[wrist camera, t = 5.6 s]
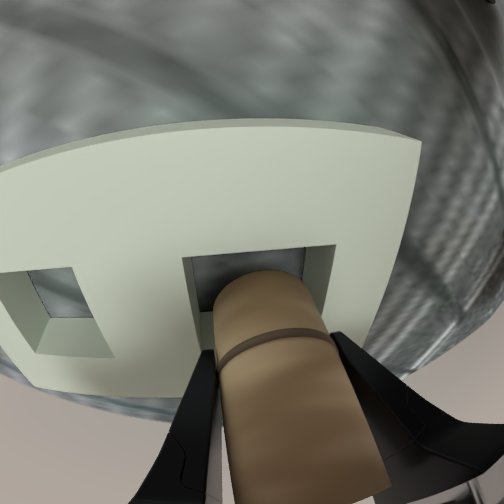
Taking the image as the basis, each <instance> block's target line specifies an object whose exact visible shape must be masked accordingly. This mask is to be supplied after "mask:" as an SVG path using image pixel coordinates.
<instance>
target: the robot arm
mask: <svg viewBox="0 0 504 504" xmlns="http://www.w3.org/2000/svg"><path fill="white" fill-rule="evenodd" d="M486 1H487V2H488V3H490V4H495V0H486ZM329 335H330V337H331V338H332V339H333V341H334V342H335V345H336V347H337V349H338V351H339V357H340V360H341V362H342V364H343V366H344V369H345V371H346V373H347V375H348V378H349V380H350V382H351V385H352V387H353V389H354V392H355V394H356V396H357V399H358V401H359V404H360V406H361V408H362V411H363V413H364V416H365V418H366V420H367V423H368V425H369V428H370V430H371V433H372V435H373V438H374V440H375V443H376V445H377V448H378V450H379V453H380V455H381V458H382V461H383V463H384V466H385V468H386V471H387V474H388V476H389V479H390V482H391V484H392V486H391V487H389V488H387V489H385V490H383V491H381V492H379V493H377V494H375V495H373V498H374V501H375V504H504V424H483V423H468V422H463V421H460V420H457V419H455V418H454V417H452V416H450V415H449V414H447V413H445V412H444V411H442V410H441V409H439V408H438V407H436V406H434V405H433V404H431V403H430V402H428V401H427V400H425V399H424V398H423V397H421V396H420V395H419V394H417V393H416V392H415V391H414V390H412V389H411V388H410V387H409V386H407V385H406V384H405V383H403V382H402V381H401V380H400V379H399V378H397V377H396V376H395V375H394V374H393V373H391V372H390V371H389V370H388V369H386V368H385V367H384V366H383V365H382V364H380V363H379V362H378V361H377V360H375V359H374V358H373V357H372V356H371V355H369V354H368V353H367V352H366V351H364V350H363V349H362V348H361V347H360V346H358V345H357V344H356V343H355V342H353V341H352V340H351V339H350V338H349V337H347V336H346V335H345V334H344V333H343V332H341V331H336V332H331V333H330V334H329ZM216 370H217V363H216V357H215V351H214V349H205V350H202V351H201V354H200V356H199V358H198V361H197V363H196V366H195V368H194V371H193V373H192V375H191V378H190V380H189V383H188V385H187V388H186V390H185V393H184V395H183V397H182V400H181V402H180V405H179V407H178V410H177V412H176V415H175V417H174V420H173V422H172V424H171V427H170V430H169V432H170V433H168V434H167V437H166V439H165V442H164V444H163V446H162V448H161V450H160V453H159V455H158V457H157V459H156V460H155V462H154V464H153V466H152V468H151V470H150V471H149V473H148V474H147V476H146V478H145V479H144V481H143V483H142V485H141V486H140V488H139V490H138V491H137V493H136V494H135V496H134V497H133V498H132V499H131V501H130V502H129V503H128V504H222V459H221V458H222V455H221V454H222V453H221V450H222V447H221V446H222V443H221V442H222V441H221V422H222V408H221V399H220V390H219V386H218V381H217V373H216Z"/></svg>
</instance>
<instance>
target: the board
mask: <svg viewBox="0 0 504 504" xmlns="http://www.w3.org/2000/svg"><path fill="white" fill-rule="evenodd" d="M421 144H422V141H419V140H417V139H414V138H411V137H408V136H405V135H402V134H399V133H396V132H393V131H390V130H387V129H384V128H381V127H375V126H368V125H360V124H352V123H343V122H332V121H320V120H304V119H276V118H249V119H220V120H204V121H192V122H181V123H172V124H164V125H156V126H149V127H142V128H136V129H130V130H124V131H119V132H114V133H109V134H104V135H99V136H95V137H90V138H86V139H82V140H78V141H74V142H70V143H67V144H63V145H59V146H56V147H52V148H49V149H46V150H43V151H40V152H36V153H33V154H30V155H27V156H25V157H22V158H19V159H16V160H14V161H11V162H8V163H6V164H3V165H1V166H0V346H1V347H2V348H3V350H4V351H5V352H6V354H7V355H8V356H9V357H10V359H11V360H12V361H13V362H14V364H15V365H16V366H17V367H18V368H19V370H20V371H21V372H22V373H23V374H24V375H25V377H26V378H27V379H28V380H29V381H30V382H31V383H32V384H33V385H34V386H35V387H40V388H45V389H51V390H57V391H64V392H72V393H80V394H89V395H100V396H114V397H137V398H175V397H183V395H184V393H185V390H186V388H187V385H188V383H189V380H190V378H191V375H192V373H193V371H194V368H195V366H196V363H197V361H198V358H199V356H200V354H201V351H202V350H205V349H214V351H215V357H216V348H215V336H214V323H213V311H211V312H200V310H199V304H198V298H197V292H196V286H195V280H194V274H193V267H192V260H191V257H192V256H204V255H215V254H227V253H239V252H251V251H263V250H274V249H286V248H298V247H306V253H305V261H304V269H303V277H302V281H303V282H304V283H305V285H306V286H307V288H308V290H309V292H310V294H311V296H312V298H313V301H314V303H315V305H316V307H317V309H318V311H319V313H320V316H321V318H322V320H323V322H324V324H325V326H326V329H327V331H328V333H329V334H330V333H331V332H336V331H341V332H343V333H344V334H345V335H346V336H347V337H349V338H350V339H351V340H352V341H353V342H355V343H356V344H357V345H358V346H360V347H361V348H362V346H363V344H364V342H365V340H366V337H367V335H368V333H369V330H370V328H371V326H372V323H373V321H374V318H375V316H376V313H377V311H378V308H379V306H380V303H381V300H382V298H383V295H384V292H385V289H386V287H387V284H388V281H389V278H390V275H391V272H392V269H393V266H394V263H395V259H396V256H397V253H398V250H399V246H400V243H401V239H402V236H403V232H404V228H405V224H406V221H407V217H408V212H409V208H410V204H411V200H412V195H413V190H414V185H415V180H416V175H417V170H418V164H419V158H420V151H421ZM63 267H72V269H73V271H74V274H75V276H76V279H77V281H78V284H79V286H80V288H81V291H82V293H83V295H84V297H85V300H86V302H87V304H88V306H89V308H90V310H91V312H92V315H93V317H94V318H50V316H49V314H48V313H47V311H46V309H45V307H44V305H43V303H42V301H41V300H40V298H39V296H38V294H37V292H36V290H35V288H34V286H33V284H32V282H31V279H30V277H29V275H28V273H27V271H28V270H40V269H51V268H63ZM216 363H217V359H216Z"/></svg>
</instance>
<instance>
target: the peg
mask: <svg viewBox="0 0 504 504" xmlns="http://www.w3.org/2000/svg"><path fill="white" fill-rule="evenodd" d="M213 323H214V336H215V348H216V359H217V370H216V373H217V381H218V386H219V390H220V399H221V408H222V417H223V425H224V433H225V441H226V448H227V455H228V463H229V469H230V476H231V482H232V488H233V495H234V501H235V504H353V503H355V502H358V501H360V500H363V499H365V498H368V497H370V496H373V495H375V494H377V493H379V492H381V491H383V490H385V489H387V488H389V487H391V486H392V484H391V482H390V479H389V476H388V474H387V471H386V468H385V466H384V463H383V461H382V458H381V455H380V453H379V450H378V448H377V445H376V443H375V440H374V438H373V435H372V433H371V430H370V428H369V425H368V423H367V420H366V418H365V416H364V413H363V411H362V408H361V406H360V404H359V401H358V399H357V396H356V394H355V392H354V389H353V387H352V385H351V382H350V380H349V378H348V375H347V373H346V371H345V369H344V366H343V364H342V362H341V360H340V357H339V351H338V349H337V347H336V345H335V342H334V341H333V339H332V338H331V337H330V335H329V333H328V331H327V329H326V326H325V324H324V322H323V320H322V318H321V316H320V313H319V311H318V309H317V307H316V305H315V303H314V301H313V298H312V296H311V294H310V292H309V290H308V288H307V286H306V285H305V283H304V282H303V281H302V280H301V279H299V278H298V277H296V276H294V275H292V274H290V273H287V272H283V271H278V270H263V271H257V272H253V273H249V274H246V275H244V276H241V277H239V278H237V279H235V280H234V281H232V282H231V283H229V284H228V285H227V286H226V287H225V288H224V289H223V290H222V291H221V292H220V293H219V295H218V296H217V298H216V300H215V303H214V306H213Z"/></svg>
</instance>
